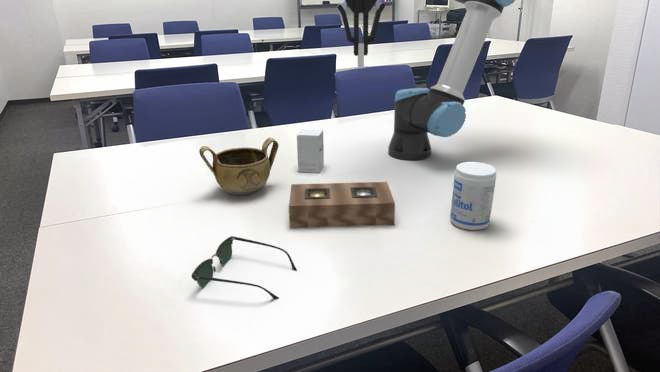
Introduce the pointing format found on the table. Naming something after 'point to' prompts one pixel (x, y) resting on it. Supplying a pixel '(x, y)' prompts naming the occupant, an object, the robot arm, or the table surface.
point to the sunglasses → (224, 253)
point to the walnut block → (341, 205)
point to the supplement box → (310, 150)
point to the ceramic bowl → (242, 167)
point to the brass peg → (317, 194)
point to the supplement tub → (472, 195)
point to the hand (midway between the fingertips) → (360, 67)
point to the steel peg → (363, 192)
